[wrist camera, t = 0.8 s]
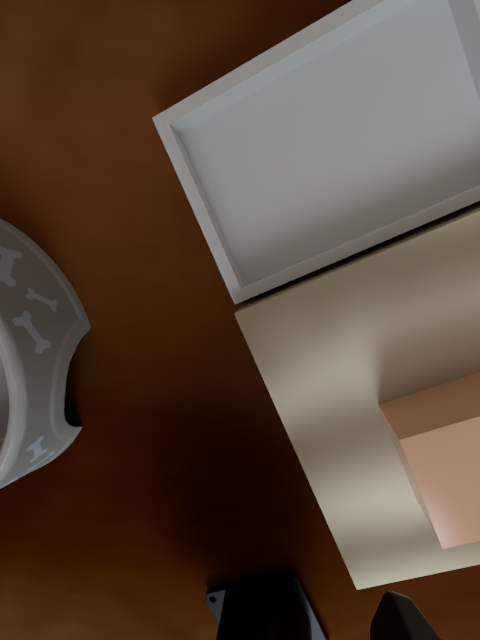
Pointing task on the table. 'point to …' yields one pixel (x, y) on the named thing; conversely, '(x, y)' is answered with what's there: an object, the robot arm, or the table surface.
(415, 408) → the tall peach block
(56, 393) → the dog bowl
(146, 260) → the table surface
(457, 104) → the bin
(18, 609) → the table surface
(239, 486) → the table surface
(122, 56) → the table surface
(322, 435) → the platform
